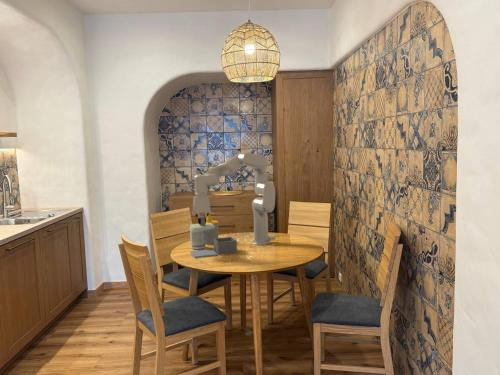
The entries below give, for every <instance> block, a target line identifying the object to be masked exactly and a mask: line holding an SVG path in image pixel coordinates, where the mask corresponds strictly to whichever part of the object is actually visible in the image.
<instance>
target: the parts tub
mask: <svg viewBox="0 0 500 375" xmlns="http://www.w3.org/2000/svg"><path fill="white" fill-rule="evenodd" d="M237 243H238V242H237V239H235V238H234V237H232V236H225V237H218V238H215V239H214V244H213V250H214V251H215V252H216V253H217V256H222V255H232V254H237V253H238V245H237Z"/></svg>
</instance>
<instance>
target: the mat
mask: <svg viewBox="0 0 500 375" xmlns="http://www.w3.org/2000/svg"><path fill="white" fill-rule="evenodd" d="M190 254H191V255H192V257H193V258H195V259H199V258H207V257H208V258H210V257H217V256H218V254H217V253H216V252H215V251H214V248H213V249H211V248H210V249H209V248H208V249H198V250H192V251H190Z"/></svg>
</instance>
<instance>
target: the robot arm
mask: <svg viewBox="0 0 500 375" xmlns="http://www.w3.org/2000/svg"><path fill="white" fill-rule="evenodd" d="M243 166H248V167H249V168H250V169H251V170H252V171H253V173H254V193H255V194H256V195H257V196H262V197H256V198H254V199H253V200H252V203H251V208H252V214H253V235H254V236H253V237H254V238H253V239H254V240H253V241H252V242H251V243H252V244H253V245H256V246H265V245H270V244H271V243H272V242H271V240H276V237H275V236H269V224H268V223H269V220H268V214H269V213H273V211H274V210H275V205H276V187H275V185H274V184H273V183H272V182H269V181H268V172H267V171H268V170H267V169H266V168H267V167H268V166H269V160H268V159H267V158H266V156H264V155H262V154H261V155H260V154H255V153H252V152H248V151H247V152H246V151H245V152H241V151H240V152H238V153H236V154H235V155H233V156H232V157H231V158H229V159H228V160H226V161H224V162H223V163H220V164H219V165H216V166H215V167H213V168H211V169H209V170H208V171H206V172H205V173H204V174H197V175H196V174H195V175H194V177H193V179H194V197H193V199H192V200H193V201H192V211H191V215H192V216H195V217H196V218H197V224H200V225H201V218H200V216H201V214H203V217H205V224H206V218H207V216H208V215H209V214H211V213H213V212H212V210H211V205H210V204H211V203H210V199H209V195H210V192H209V191H208V187H216V186H218V185H219V184H220V183H221V182H220V181H221V177H224V176H229V175H231V174H233V173H235V172H236V171H237V170H239V169H241V168H242V167H243ZM211 215H212V214H211Z"/></svg>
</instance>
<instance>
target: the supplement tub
mask: <svg viewBox="0 0 500 375" xmlns="http://www.w3.org/2000/svg"><path fill="white" fill-rule="evenodd" d="M189 235H190V248H191V249H192V250H204V249H205V248H206V244H205V232H204V230H200V231H196V230H194V229H193V228H191V227H190V226H189Z"/></svg>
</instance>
